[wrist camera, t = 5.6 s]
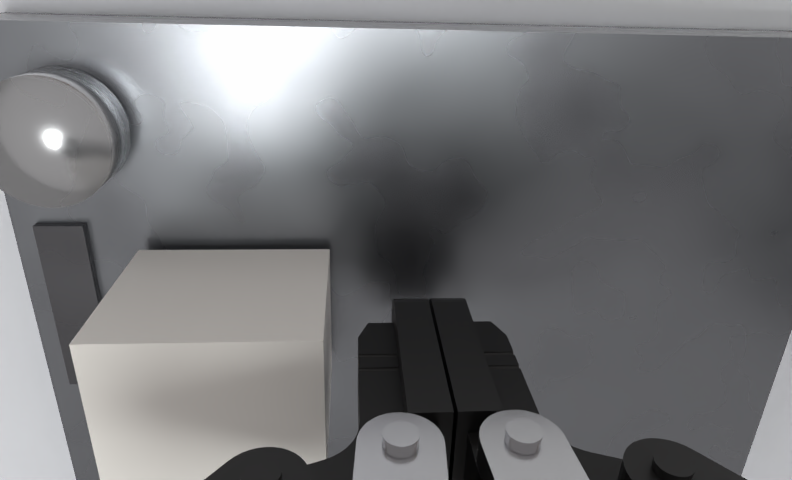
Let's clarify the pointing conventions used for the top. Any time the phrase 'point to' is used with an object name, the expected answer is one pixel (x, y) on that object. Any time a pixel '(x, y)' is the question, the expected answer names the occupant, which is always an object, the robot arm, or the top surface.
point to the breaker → (207, 361)
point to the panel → (431, 195)
